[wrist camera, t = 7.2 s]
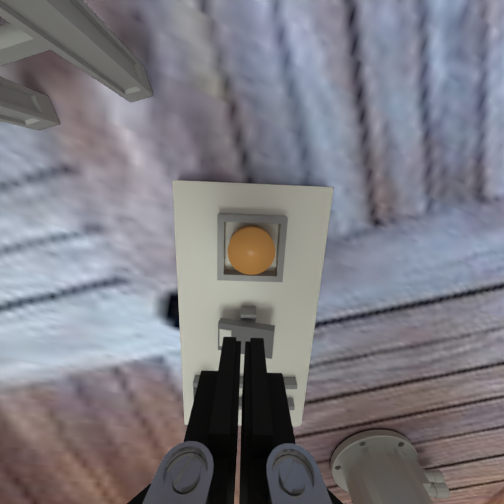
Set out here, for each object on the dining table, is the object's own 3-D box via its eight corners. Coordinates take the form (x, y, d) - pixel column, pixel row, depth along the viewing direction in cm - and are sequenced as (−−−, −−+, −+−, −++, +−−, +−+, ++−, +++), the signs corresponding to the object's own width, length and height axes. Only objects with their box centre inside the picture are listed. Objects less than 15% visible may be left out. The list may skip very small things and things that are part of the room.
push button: (274, 225, 23) (277, 229, 21) (271, 267, 25) (273, 275, 23) (229, 223, 23) (227, 227, 21) (228, 266, 24) (227, 273, 23)
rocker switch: (275, 320, 25) (273, 332, 23) (273, 346, 26) (271, 359, 24) (223, 312, 26) (217, 323, 24) (223, 338, 27) (217, 350, 25)
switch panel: (326, 186, 24) (340, 188, 21) (297, 411, 33) (304, 440, 30) (178, 180, 24) (166, 180, 20) (188, 410, 33) (180, 439, 29)
